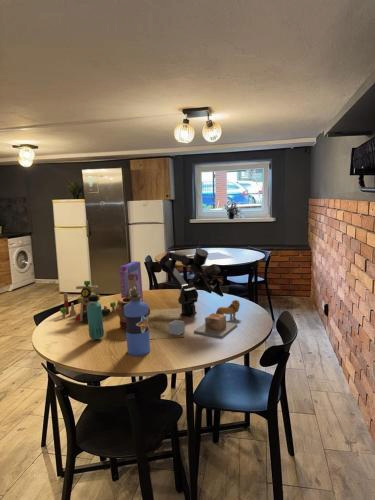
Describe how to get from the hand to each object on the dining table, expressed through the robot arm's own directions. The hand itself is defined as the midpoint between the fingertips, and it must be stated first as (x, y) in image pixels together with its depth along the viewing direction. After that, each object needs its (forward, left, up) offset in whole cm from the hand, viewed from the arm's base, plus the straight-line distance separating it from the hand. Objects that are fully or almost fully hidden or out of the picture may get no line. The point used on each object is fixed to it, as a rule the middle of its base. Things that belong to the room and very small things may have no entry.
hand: (217, 294), depth 155 cm
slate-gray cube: (-14, -13, -16) cm, 25 cm away
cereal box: (-64, +14, -16) cm, 68 cm away
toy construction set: (-73, -15, -16) cm, 77 cm away
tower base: (0, -2, -16) cm, 16 cm away
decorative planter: (-37, -16, -16) cm, 44 cm away
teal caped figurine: (-42, -35, -16) cm, 57 cm away
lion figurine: (-1, +13, -16) cm, 21 cm away
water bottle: (-17, -36, -16) cm, 43 cm away
